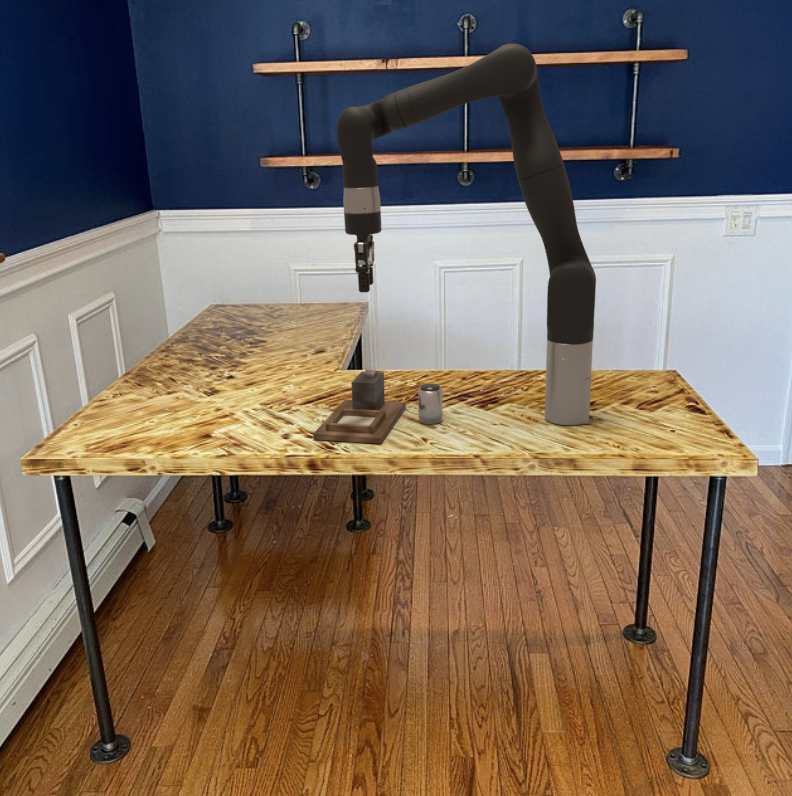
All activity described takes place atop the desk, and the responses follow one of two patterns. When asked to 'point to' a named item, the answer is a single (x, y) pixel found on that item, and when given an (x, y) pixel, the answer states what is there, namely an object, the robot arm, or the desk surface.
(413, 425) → the desk surface
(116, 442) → the desk surface
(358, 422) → the dock
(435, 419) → the lens
